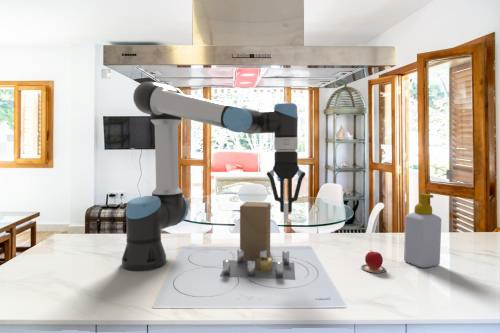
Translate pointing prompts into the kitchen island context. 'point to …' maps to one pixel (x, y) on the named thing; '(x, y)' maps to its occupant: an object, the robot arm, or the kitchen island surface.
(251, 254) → the wooden block
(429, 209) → the soap bottle
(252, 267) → the set of silver pegs
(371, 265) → the apple
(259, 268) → the nut
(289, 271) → the grey flat plate
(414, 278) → the kitchen island surface
